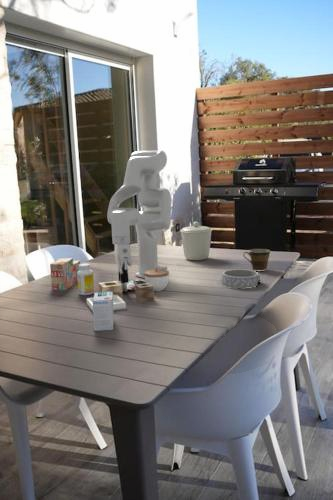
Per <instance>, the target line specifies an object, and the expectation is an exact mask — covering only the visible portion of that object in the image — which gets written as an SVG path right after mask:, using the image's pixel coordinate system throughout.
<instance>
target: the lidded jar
mask: <svg viewBox="0 0 333 500" xmlns="http://www.w3.org/2000/svg"><path fill="white" fill-rule="evenodd" d="M144 274H145V278H144V281H145V283H150V284H151V285H153V286H154V292H160V291H163V290H165V288H166V287H167V286H168V283H169V278H170V277H169V275H170V271H169V270H168V269H167V270H162V269H158V268H155V269H154V270H148V271H145V273H144Z"/></svg>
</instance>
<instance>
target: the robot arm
mask: <svg viewBox="0 0 333 500" xmlns="http://www.w3.org/2000/svg"><path fill="white" fill-rule="evenodd" d="M167 156H168V155H167V154H166V152H165V151H163V150H138V151H134V152H132V153H131V155H130V158H129V159H128V161H127V163H126V170H125V173H124V178H123V184H122V186H120V188H119V189H117V190H116V191H115V193H114V194H113V195H112V196H111V198H110V200H109V204H108V208H107V215H106V216H107V217H106V218H107V222H108V223H109V224H111V238H112V245H114V261H115V264H116V266H117V269H118V270H117V271H118V272H117V274H118V282H120V284H121V283H129V267H132V265H133V264H132V254H131V247H130V243H131V231H130V230H131V229H130V226H135V231H136V232H135V233H136V237H137V242H136V243H137V263H138V264H137V265H138V266H137V267H138V271H137V272H135V276H136V277H138V278H142V279H143V278H144V279H145V274H144V273H145V271H148V270H154V269H155V268H158V269H162V270H167V271H168V266H167V265H159V264H158V262H159V261H158V240H157V236H156V234H155V233H154V232H166V231H168V230H169V229H170V228H171V224H172V223H171V222H172V194H171V192H170V190H169V189H167V188H164V187H163V188H162V187H157V177H156V175H158V174H159V173H160V172H161V171H162V170H164V168H165V167H166V165H167V163H168V157H167ZM136 195H138V196H137V198H138V204H139V207H141V208H143V209H160V210H142V211H139V209H137V208H135V207H120V205H121V203H123V202H124V201H126V200H127V199H129V198H131V197H133V196H136ZM122 264H123V265H124V266H123V265H122ZM120 267H121V279H120ZM123 268H124V269H123Z"/></svg>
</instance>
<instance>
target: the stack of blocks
mask: <svg viewBox="0 0 333 500" xmlns="http://www.w3.org/2000/svg"><path fill="white" fill-rule="evenodd" d="M49 264H50V265H49V267H50V268H49V269H50V281H51V290H52V291H66V290H68V289H69V288H71V287H72V286H74V285H75V284H77V283H78V277H77V272H78V271H79V270H80V268H79V265H80V264H81V260H74V259H73V257H71V258H70V257H68V258H67V257H65V258H63V257H62V258H61V257H60V258H58V259H57V260H55V261H53V262H51V263H49Z"/></svg>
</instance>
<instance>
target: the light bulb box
mask: <svg viewBox="0 0 333 500" xmlns="http://www.w3.org/2000/svg"><path fill="white" fill-rule="evenodd" d="M92 298H93V312H92V315H93V331H94V332H95V331H113V330H114V322H115V321H114V320H115V318H114V317H115V316H114V310H113V292H99V291H98V292H94V293H93V297H92Z"/></svg>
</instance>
